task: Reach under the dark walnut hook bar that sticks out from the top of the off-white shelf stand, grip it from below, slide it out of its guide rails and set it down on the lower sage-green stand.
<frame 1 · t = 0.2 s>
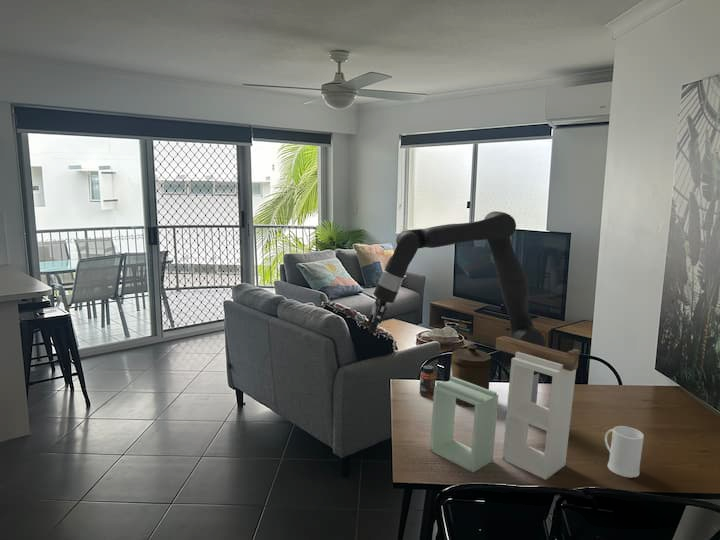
hand: (370, 329, 179), 31 cm above the table, tool tilted 20°, fingers open, 8 cm apart
mug: (619, 467, 156), on the table
supplement bottle: (426, 394, 204), on the table
hook bar: (534, 358, 153), point 32 cm above the table, touching shelf stand
shelf stand: (533, 462, 157), on the table
wooden container: (467, 399, 201), on the table
rest stand: (460, 455, 159), on the table
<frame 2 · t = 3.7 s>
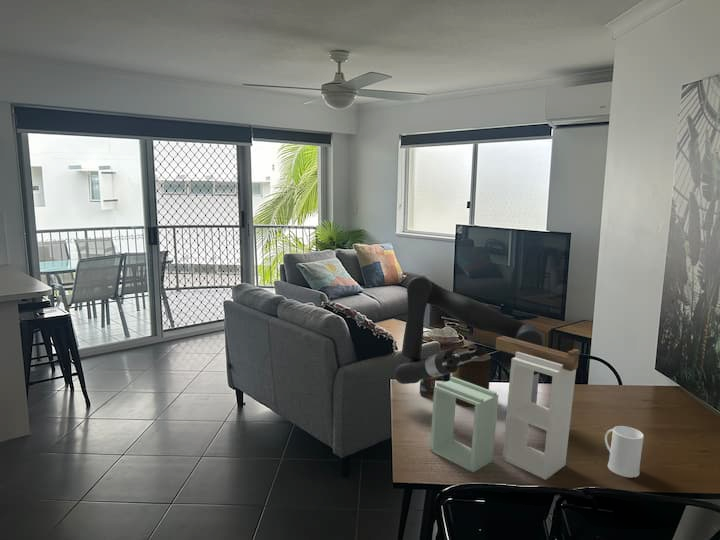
hand: (478, 353, 168), 28 cm above the table, tool pointing upward, fingers open, 8 cm apart
nothing on the table moved.
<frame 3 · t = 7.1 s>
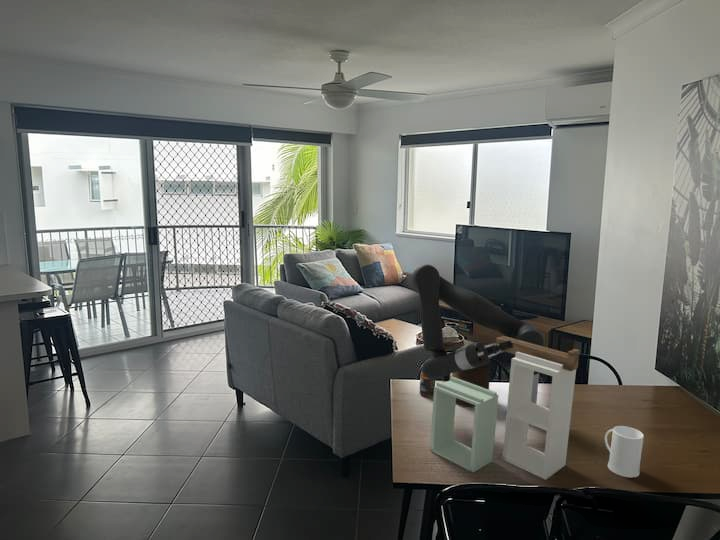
hand: (515, 342, 157), 35 cm above the table, tool pointing upward, fingers closed on hook bar, 4 cm apart
hook bar: (534, 358, 153), point 32 cm above the table, touching gripper, shelf stand
everything else where it was.
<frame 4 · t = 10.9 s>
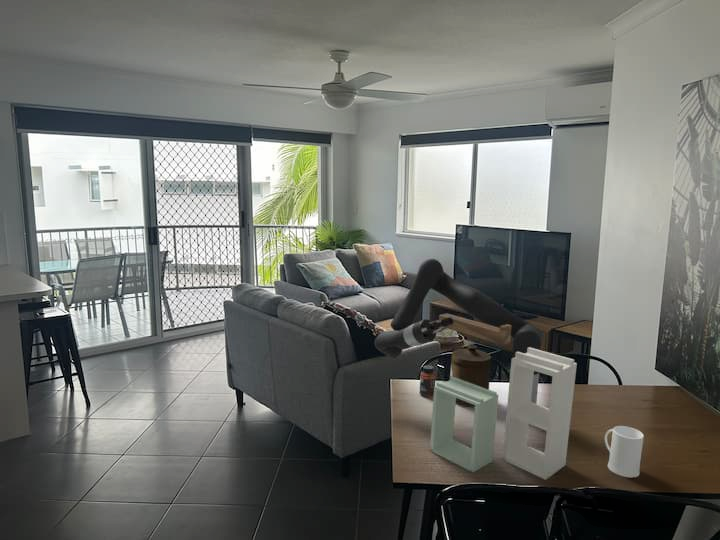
hand: (456, 319, 166), 39 cm above the table, tool pointing upward, fingers closed on hook bar, 4 cm apart
hook bar: (472, 333, 162), point 36 cm above the table, touching gripper
everything else where it was.
when the fingers open (26 cm above the table, at t = 14.5 s): hook bar drops 2 cm, resting on rest stand.
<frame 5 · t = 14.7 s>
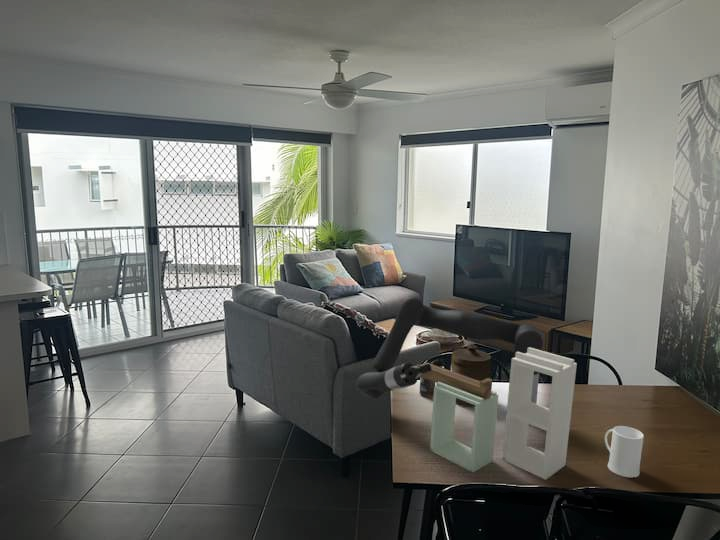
hand: (436, 364, 163), 26 cm above the table, tool pointing upward, fingers open, 6 cm apart
hook bar: (453, 385, 159), point 21 cm above the table, touching rest stand
everything else where it was.
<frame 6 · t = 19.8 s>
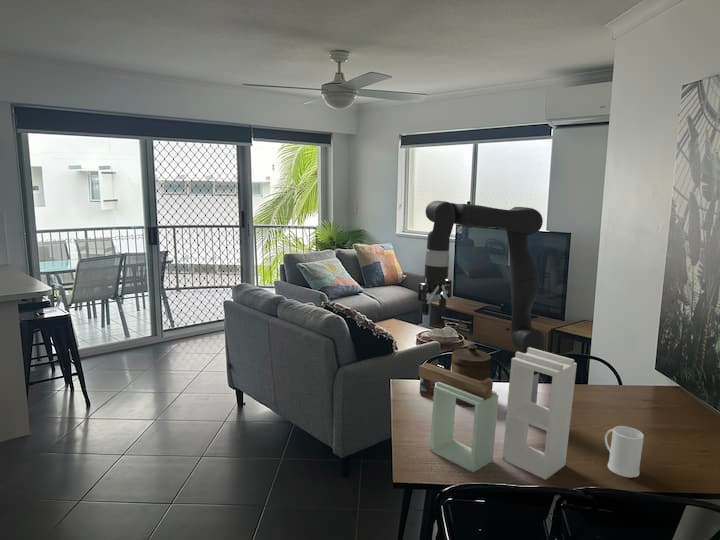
hand: (433, 312, 169), 40 cm above the table, tool pointing down, fingers open, 8 cm apart
nothing on the table moved.
at the end: hook bar inside the target area on the rest stand (0.5 cm from its centre), point 21.0 cm above the rest stand's base; the gripper is holding nothing; hook bar touching rest stand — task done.
